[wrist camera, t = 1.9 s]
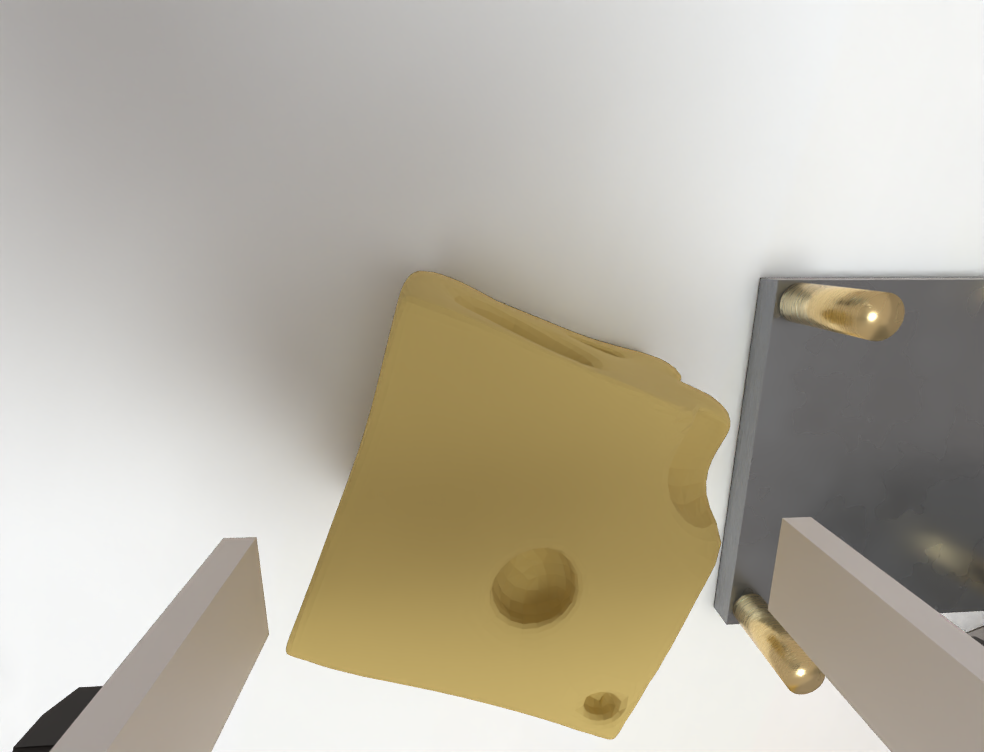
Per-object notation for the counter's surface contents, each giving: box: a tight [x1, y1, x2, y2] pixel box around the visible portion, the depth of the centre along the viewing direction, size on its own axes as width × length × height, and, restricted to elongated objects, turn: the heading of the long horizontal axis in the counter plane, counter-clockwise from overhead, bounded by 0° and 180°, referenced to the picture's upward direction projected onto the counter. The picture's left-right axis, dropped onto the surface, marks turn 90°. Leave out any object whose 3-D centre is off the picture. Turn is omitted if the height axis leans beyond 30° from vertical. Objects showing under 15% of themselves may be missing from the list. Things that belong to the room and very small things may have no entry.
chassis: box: [714, 277, 984, 694], centre depth 21 cm, size 16×16×5 cm
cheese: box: [286, 271, 730, 739], centre depth 17 cm, size 10×11×10 cm
